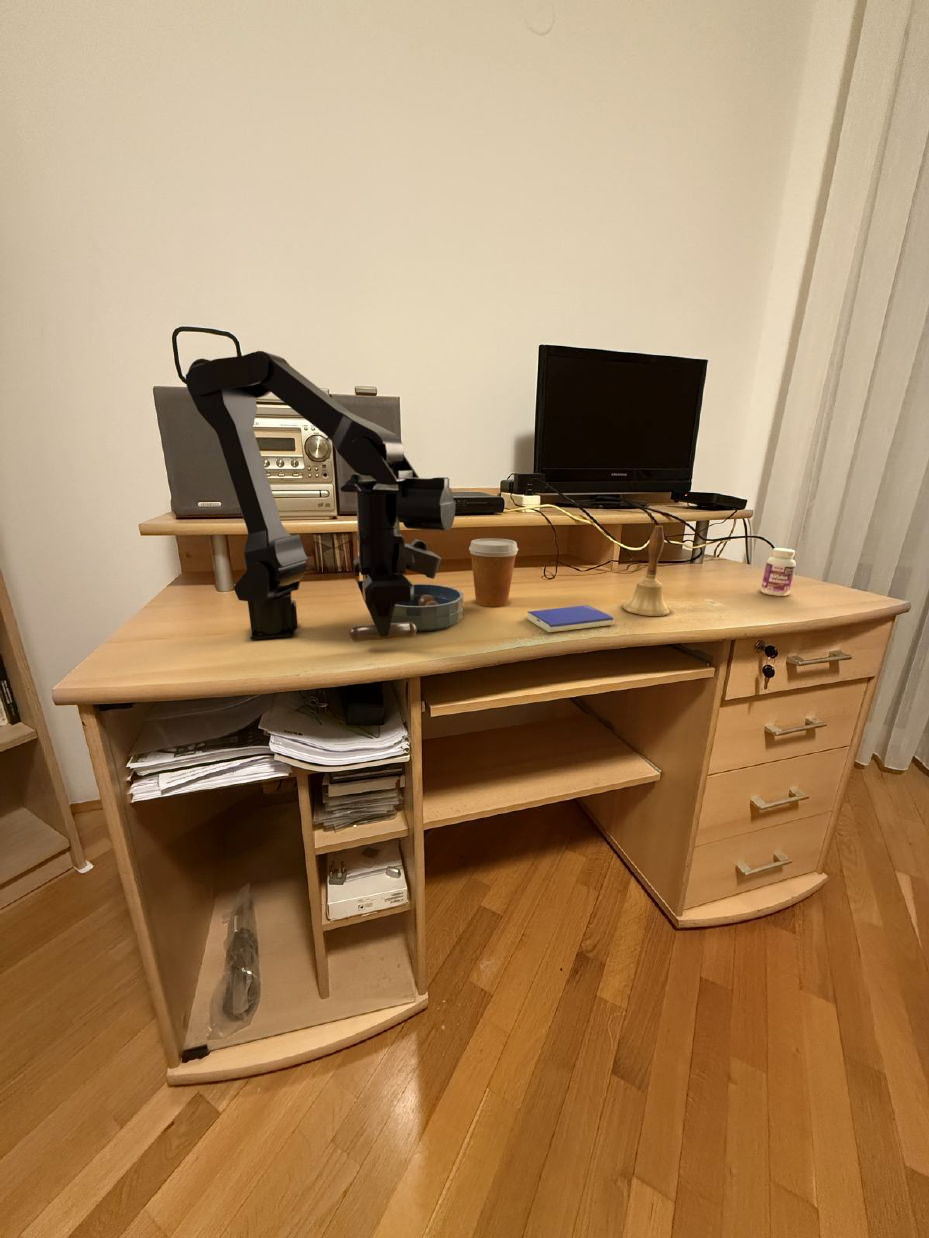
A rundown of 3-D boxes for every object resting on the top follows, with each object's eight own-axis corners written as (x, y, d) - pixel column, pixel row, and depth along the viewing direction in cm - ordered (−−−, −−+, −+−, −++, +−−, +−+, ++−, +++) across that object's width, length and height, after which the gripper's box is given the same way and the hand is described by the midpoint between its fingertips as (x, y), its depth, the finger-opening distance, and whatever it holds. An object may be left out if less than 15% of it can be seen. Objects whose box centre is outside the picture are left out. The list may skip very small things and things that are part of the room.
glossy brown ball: (433, 615, 88) (421, 613, 86) (425, 607, 90) (412, 604, 88) (441, 601, 87) (428, 598, 85) (432, 593, 89) (419, 590, 87)
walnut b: (432, 594, 83) (446, 605, 84) (424, 603, 86) (437, 613, 86) (426, 605, 81) (440, 616, 82) (417, 614, 83) (431, 624, 84)
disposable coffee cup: (513, 610, 92) (516, 547, 88) (463, 607, 93) (464, 544, 90) (518, 597, 100) (521, 539, 97) (472, 594, 102) (473, 537, 98)
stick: (349, 645, 70) (348, 629, 69) (348, 639, 72) (347, 623, 71) (418, 639, 73) (418, 624, 72) (415, 633, 75) (414, 618, 74)
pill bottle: (766, 595, 105) (775, 551, 102) (756, 589, 110) (765, 546, 107) (793, 597, 104) (804, 552, 101) (782, 590, 109) (792, 548, 106)
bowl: (382, 637, 77) (381, 610, 76) (371, 609, 91) (370, 586, 89) (474, 629, 81) (474, 603, 80) (450, 604, 95) (450, 581, 94)
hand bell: (665, 605, 96) (678, 524, 91) (672, 618, 89) (685, 529, 84) (622, 602, 98) (631, 522, 93) (624, 614, 91) (635, 527, 86)
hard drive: (586, 604, 91) (527, 610, 87) (613, 616, 84) (550, 624, 80) (585, 612, 91) (526, 618, 87) (612, 625, 84) (549, 633, 80)
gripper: (453, 535, 61) (452, 651, 66) (421, 518, 78) (422, 611, 83) (362, 537, 58) (368, 659, 63) (350, 519, 75) (356, 616, 80)
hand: (382, 633), depth 72 cm, fingers closed on stick, 2 cm apart
